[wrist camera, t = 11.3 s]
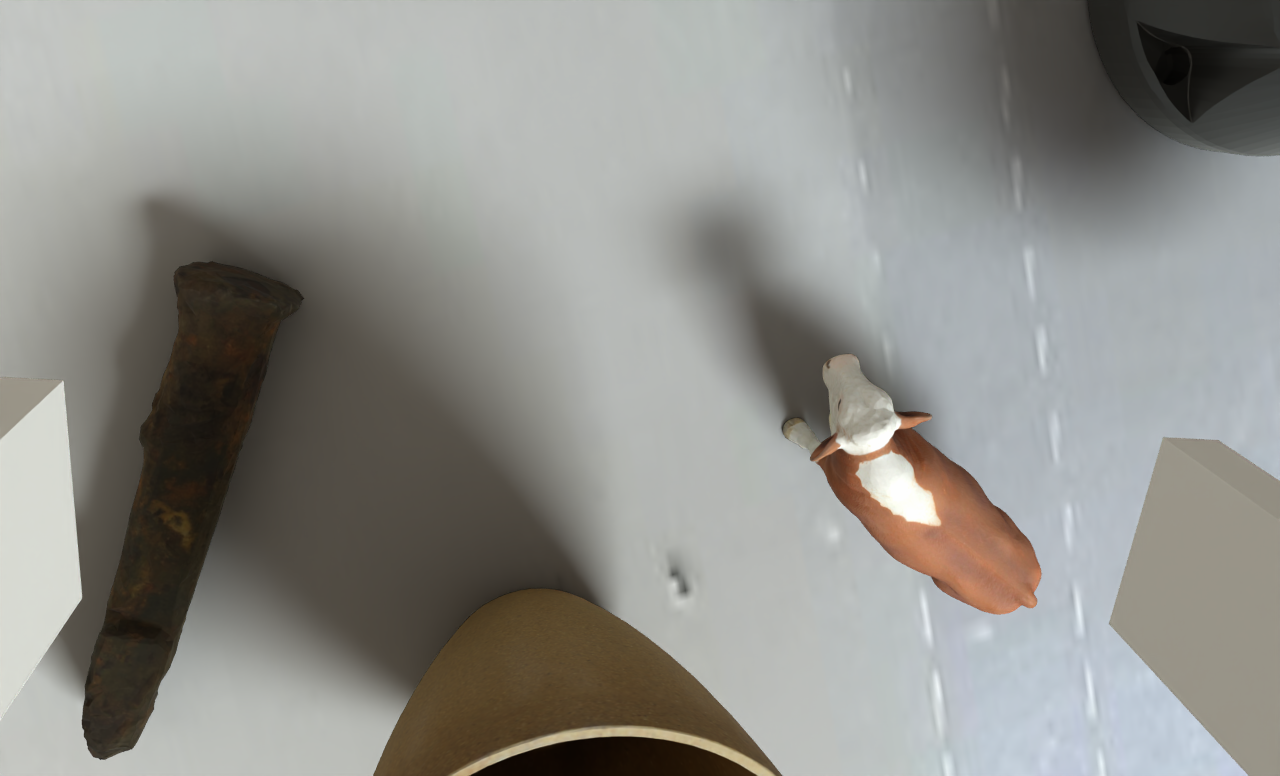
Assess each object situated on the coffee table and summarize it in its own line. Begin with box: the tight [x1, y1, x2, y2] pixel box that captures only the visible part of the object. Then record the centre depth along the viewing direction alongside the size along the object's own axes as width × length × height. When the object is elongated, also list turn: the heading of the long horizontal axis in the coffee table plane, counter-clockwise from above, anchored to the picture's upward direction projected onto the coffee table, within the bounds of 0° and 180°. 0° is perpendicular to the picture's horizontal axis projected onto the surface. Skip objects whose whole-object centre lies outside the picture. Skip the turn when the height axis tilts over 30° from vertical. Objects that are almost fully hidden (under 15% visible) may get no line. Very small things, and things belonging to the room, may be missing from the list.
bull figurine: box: [783, 354, 1041, 614], centre depth 42 cm, size 4×13×8 cm, turn 42°
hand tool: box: [82, 261, 304, 760], centre depth 39 cm, size 19×4×5 cm, turn 157°
